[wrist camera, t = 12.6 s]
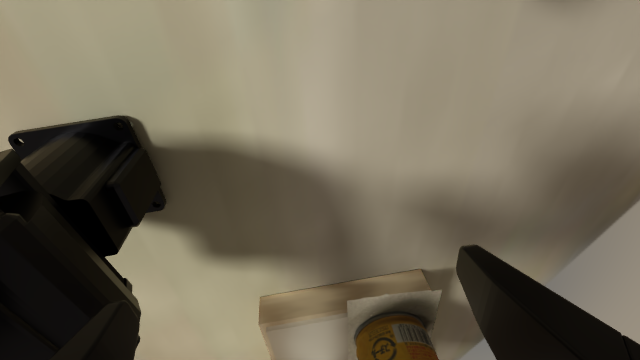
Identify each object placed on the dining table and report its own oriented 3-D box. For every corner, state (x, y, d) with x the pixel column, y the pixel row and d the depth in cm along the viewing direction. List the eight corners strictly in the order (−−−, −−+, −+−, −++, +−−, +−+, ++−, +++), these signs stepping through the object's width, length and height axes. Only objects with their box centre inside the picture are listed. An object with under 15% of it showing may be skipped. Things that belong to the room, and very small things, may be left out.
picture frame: (285, 371, 35) (285, 402, 32) (259, 297, 28) (258, 329, 26) (415, 347, 35) (426, 376, 32) (420, 268, 29) (434, 297, 26)
